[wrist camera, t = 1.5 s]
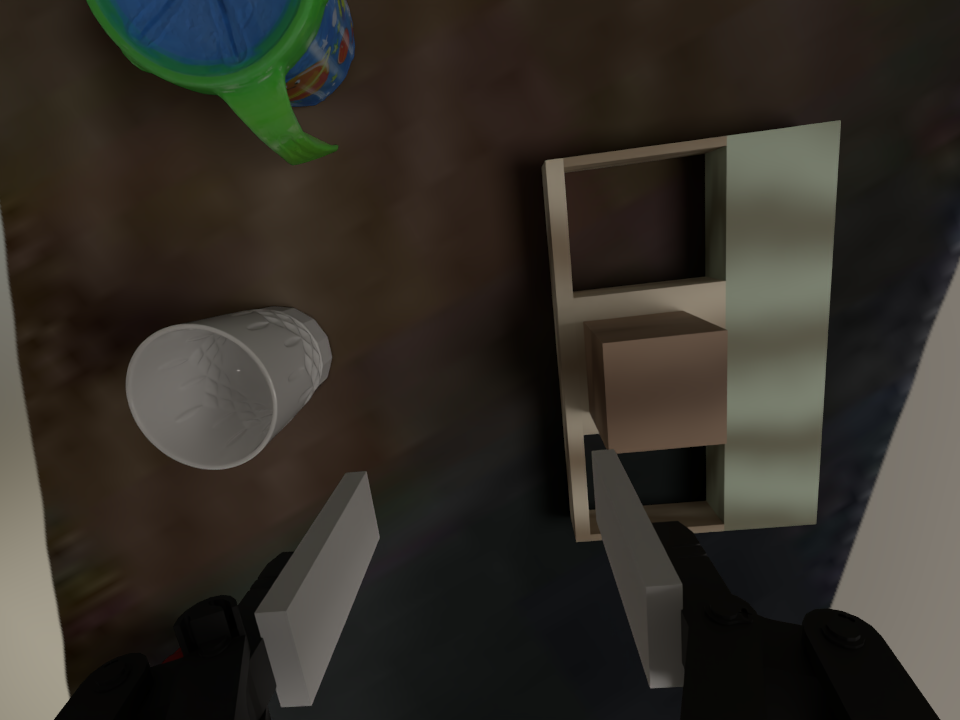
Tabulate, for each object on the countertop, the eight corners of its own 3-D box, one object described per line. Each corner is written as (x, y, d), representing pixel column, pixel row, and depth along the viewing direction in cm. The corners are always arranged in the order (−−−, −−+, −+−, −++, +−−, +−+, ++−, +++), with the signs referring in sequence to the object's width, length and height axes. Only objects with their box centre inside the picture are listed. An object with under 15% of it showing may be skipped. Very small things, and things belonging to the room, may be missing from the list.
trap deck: (790, 499, 35) (816, 524, 32) (570, 517, 36) (576, 541, 34) (807, 131, 29) (840, 120, 26) (541, 167, 30) (545, 160, 27)
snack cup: (170, -88, 28) (-13, -264, 18) (344, -139, 27) (251, -355, 17) (254, 192, 32) (141, 174, 22) (410, 157, 30) (365, 122, 21)
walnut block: (684, 403, 31) (726, 443, 25) (589, 412, 31) (608, 454, 25) (683, 310, 29) (727, 330, 23) (583, 321, 30) (602, 343, 24)
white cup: (310, 280, 33) (230, 300, 23) (359, 383, 35) (302, 442, 25) (211, 321, 34) (95, 356, 24) (263, 419, 36) (174, 488, 26)
